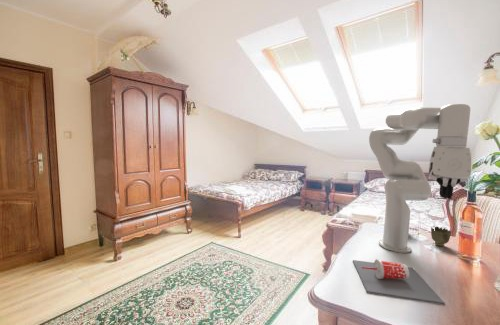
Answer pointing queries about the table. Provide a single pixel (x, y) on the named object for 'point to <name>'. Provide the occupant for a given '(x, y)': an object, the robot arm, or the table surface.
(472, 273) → the table surface
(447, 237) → the cup
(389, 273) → the beverage cup
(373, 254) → the table surface
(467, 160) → the robot arm
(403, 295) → the mat
